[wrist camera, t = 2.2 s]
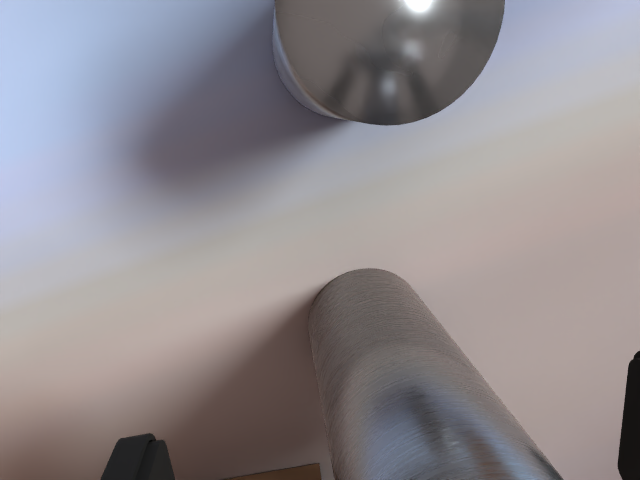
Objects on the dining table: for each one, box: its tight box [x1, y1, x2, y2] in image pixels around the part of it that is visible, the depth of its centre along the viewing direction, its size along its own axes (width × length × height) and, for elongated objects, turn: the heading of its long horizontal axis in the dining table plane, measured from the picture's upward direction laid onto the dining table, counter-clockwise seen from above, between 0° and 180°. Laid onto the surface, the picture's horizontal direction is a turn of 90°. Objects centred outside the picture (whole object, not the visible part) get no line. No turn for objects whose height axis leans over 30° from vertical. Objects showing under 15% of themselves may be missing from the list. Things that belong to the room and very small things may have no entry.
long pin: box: [308, 268, 563, 480], centre depth 8 cm, size 4×4×12 cm
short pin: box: [272, 0, 505, 125], centre depth 9 cm, size 4×4×5 cm
